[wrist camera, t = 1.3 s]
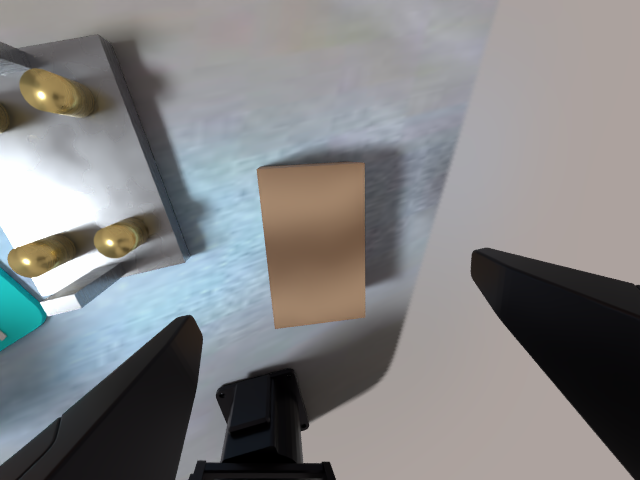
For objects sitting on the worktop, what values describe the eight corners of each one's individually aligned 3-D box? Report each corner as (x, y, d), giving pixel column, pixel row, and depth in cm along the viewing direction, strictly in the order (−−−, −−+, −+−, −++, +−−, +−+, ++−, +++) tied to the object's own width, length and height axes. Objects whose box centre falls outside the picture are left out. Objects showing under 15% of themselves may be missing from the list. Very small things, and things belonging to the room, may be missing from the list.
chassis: (190, 256, 20) (158, 293, 14) (56, 287, 19) (-30, 339, 14) (110, 43, 16) (25, -15, 10) (-63, 73, 15) (-251, 28, 10)
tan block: (350, 290, 23) (365, 317, 19) (275, 298, 22) (274, 328, 18) (347, 161, 20) (364, 162, 16) (260, 166, 19) (256, 169, 15)
